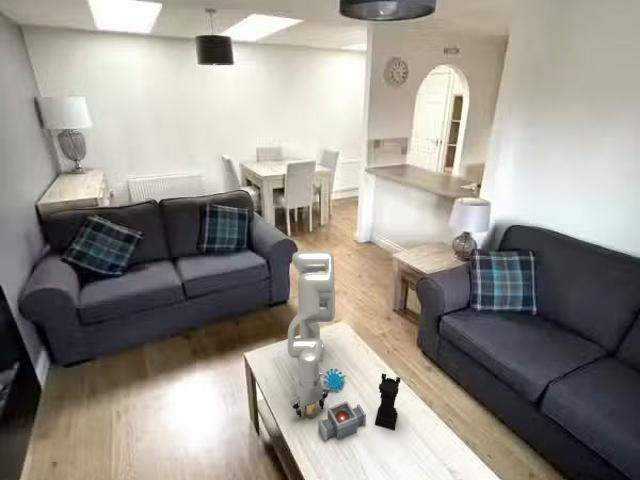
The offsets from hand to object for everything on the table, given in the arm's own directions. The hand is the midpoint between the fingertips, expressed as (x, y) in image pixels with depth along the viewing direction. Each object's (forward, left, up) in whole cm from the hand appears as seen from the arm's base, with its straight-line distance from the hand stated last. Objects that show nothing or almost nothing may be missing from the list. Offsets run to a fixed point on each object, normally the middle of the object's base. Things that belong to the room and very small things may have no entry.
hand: (310, 410), depth 147 cm
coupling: (0, 0, -2) cm, 2 cm away
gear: (-9, +16, -2) cm, 19 cm away
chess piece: (+15, +27, -2) cm, 31 cm away
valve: (+11, +9, -2) cm, 14 cm away
